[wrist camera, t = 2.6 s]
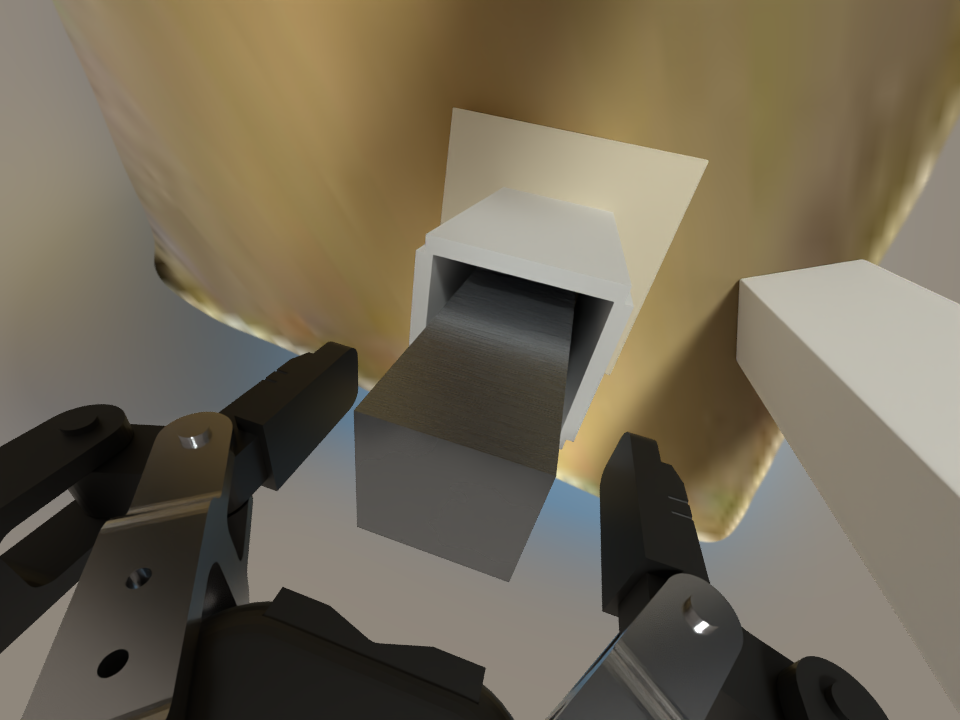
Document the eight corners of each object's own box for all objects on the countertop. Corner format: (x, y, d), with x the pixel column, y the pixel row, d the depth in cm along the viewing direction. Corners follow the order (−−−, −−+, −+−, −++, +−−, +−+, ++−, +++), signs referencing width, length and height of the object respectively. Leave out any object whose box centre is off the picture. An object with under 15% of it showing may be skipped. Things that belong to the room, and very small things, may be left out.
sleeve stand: (460, 108, 22) (294, 77, 10) (701, 158, 20) (867, 198, 8) (436, 315, 30) (327, 443, 17) (609, 364, 28) (621, 543, 16)
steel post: (517, 217, 23) (348, 404, 7) (584, 233, 22) (563, 474, 7) (502, 286, 25) (354, 535, 10) (562, 302, 25) (508, 593, 9)
